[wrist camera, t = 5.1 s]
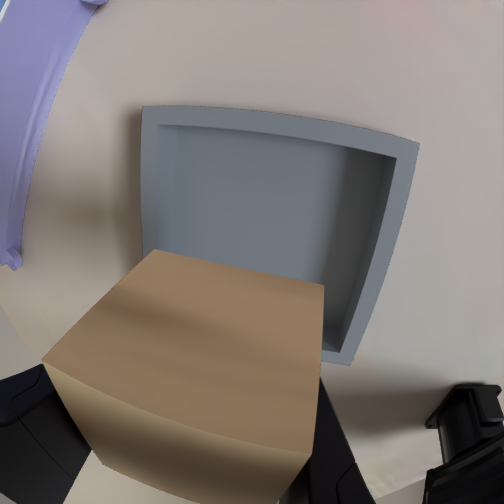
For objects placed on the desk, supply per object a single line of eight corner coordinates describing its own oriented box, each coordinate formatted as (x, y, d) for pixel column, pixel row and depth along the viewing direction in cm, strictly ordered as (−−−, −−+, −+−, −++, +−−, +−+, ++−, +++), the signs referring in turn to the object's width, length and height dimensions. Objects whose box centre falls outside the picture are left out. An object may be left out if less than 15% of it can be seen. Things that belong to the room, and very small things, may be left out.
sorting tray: (348, 336, 21) (350, 365, 18) (166, 297, 23) (148, 319, 20) (404, 138, 15) (419, 143, 12) (168, 105, 17) (142, 106, 14)
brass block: (289, 395, 10) (263, 518, 6) (163, 362, 11) (102, 464, 7) (324, 284, 8) (311, 454, 4) (154, 248, 9) (41, 359, 4)
